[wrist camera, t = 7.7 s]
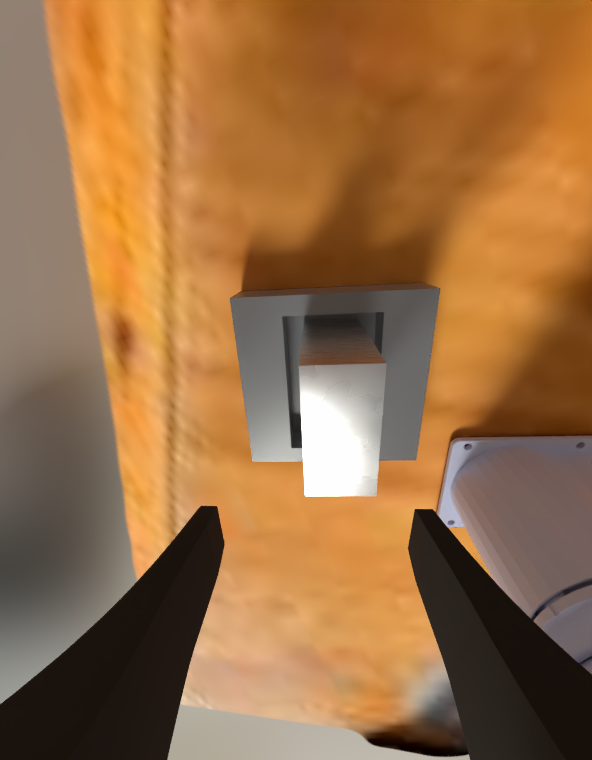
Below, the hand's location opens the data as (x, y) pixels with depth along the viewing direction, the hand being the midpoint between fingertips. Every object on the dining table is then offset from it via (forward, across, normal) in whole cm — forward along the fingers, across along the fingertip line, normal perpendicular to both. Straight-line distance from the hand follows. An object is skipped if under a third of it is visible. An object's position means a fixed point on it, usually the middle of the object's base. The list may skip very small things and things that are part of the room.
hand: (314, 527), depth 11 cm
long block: (+9, -1, -3) cm, 9 cm away
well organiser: (+9, -1, -2) cm, 10 cm away
